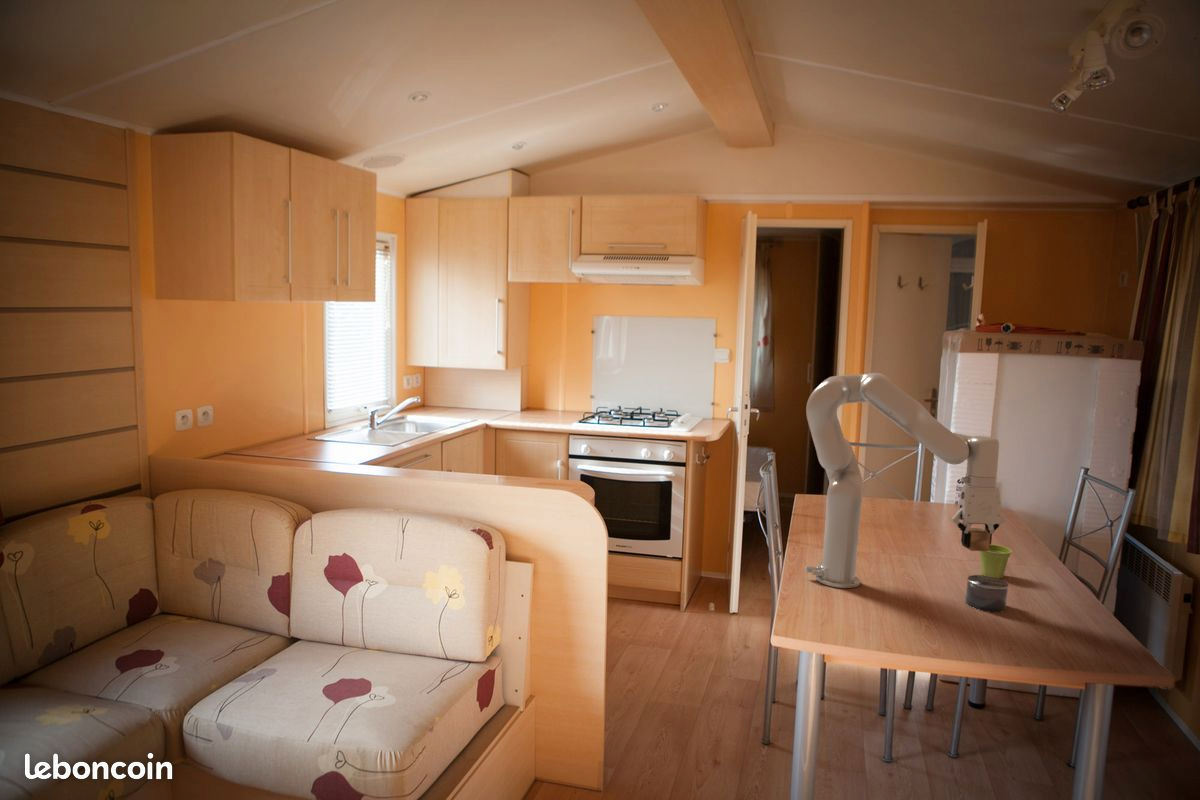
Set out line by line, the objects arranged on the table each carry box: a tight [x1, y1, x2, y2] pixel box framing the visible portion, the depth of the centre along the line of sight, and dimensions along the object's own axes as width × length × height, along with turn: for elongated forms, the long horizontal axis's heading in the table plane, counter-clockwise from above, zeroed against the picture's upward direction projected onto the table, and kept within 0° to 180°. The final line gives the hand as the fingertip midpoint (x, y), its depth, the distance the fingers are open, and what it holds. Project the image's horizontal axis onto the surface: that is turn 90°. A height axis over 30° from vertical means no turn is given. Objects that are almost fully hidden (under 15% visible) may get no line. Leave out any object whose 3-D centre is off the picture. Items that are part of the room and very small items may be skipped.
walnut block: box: [961, 527, 991, 552], centre depth 223 cm, size 5×5×5 cm
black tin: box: [964, 574, 1009, 613], centre depth 223 cm, size 10×10×7 cm
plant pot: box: [979, 543, 1013, 579], centre depth 249 cm, size 9×9×9 cm
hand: (975, 545), depth 223 cm, fingers closed on walnut block, 5 cm apart
